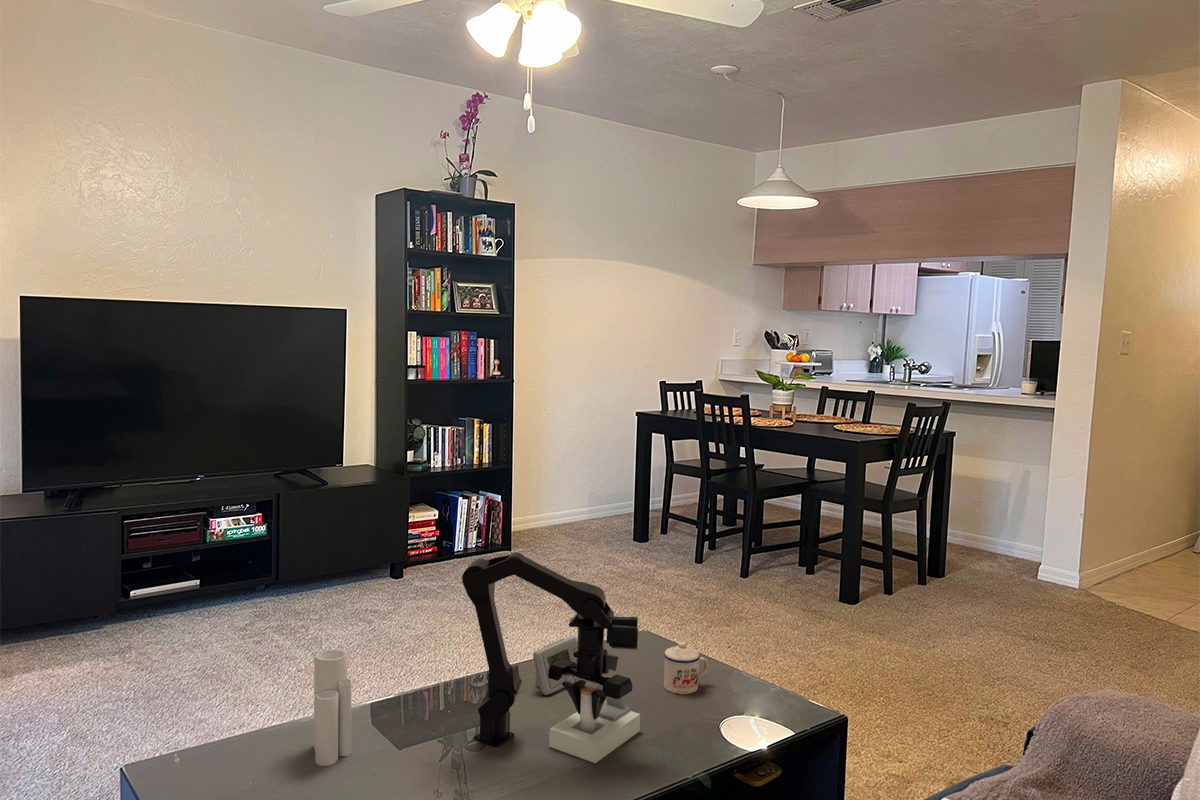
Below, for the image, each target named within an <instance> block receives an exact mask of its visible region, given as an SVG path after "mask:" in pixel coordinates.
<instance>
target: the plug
mask: <svg viewBox="0 0 1200 800" xmlns="http://www.w3.org/2000/svg"><path fill="white" fill-rule="evenodd" d="M595 690H597V686H592V685H585V686H584V687H582V688H581V706H580V731H583V732H586V733H594V732H595V731H596V724H597V719H596V720H595V719H594V718H593V712H592V699H591V693H592V692H593V691H595Z"/></svg>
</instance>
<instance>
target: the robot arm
mask: <svg viewBox="0 0 1200 800" xmlns="http://www.w3.org/2000/svg"><path fill="white" fill-rule="evenodd" d="M511 576H515V577H517V578H520V579H521V580H524V581H526V582H527V583H528V584H531V585H534V586H535V587H537V588H539V589H541V590H543V591H545V592H547V593H549V594H552V595H553V596H555V597H557V598H559V599H561V600H562V601H563V602H564V603H565V604H566V605H567V606H568V607H569V608H570V609H571V610H573V611H574V612H575V613H576V614H575V615H574V616H573V617H572V618H570V620H569V623H568V627H569V628H577V638H576V639H577V651H575V652H574V655H573V657H576V658H577V664H576V663H575V662H572V661H569V660H566V659H561V660H559V661H557V662H555V663H553V664H551V665H550V666H549V668H548V678H550V679H553V680H556V681H558V680H560V679H561V678H562V674H563V676H564V682H563V683H562V686H564V687H565V688H564V689H565V690H566V691H567V693H568V695H569V696H570V698H571V701H572V702H573V705H574V707H575V709H576V712H578V714H580V706H581V688H582V687H584V686H586V683H590V684H593V685H596V688H597V690H595V691H593V692H592V693H591V699H592V712H593V718H594V719H595V720H596V719H597V718H598V716H599V714H600V711H601V709H602V706H603V704H604V701H605V700H607V696H608V697H611V698H614V699H620V698H621V697H623V696H625V697H626V695H627V694H630V692H632V691H633V681H632V679H631V678H630V677H628V676H627V677H626V676H624V675H620V674H614V675H613V676H611V677H609V676H603V675H607V674H609V671H613V672H616V671H617V665H618V661H619V655H618V656H617V655H613V654H610V653H608V650H607V649H606V648H604V645H605V629H606V644H608V646H609V647H611V649H617V650H620V649H621V650H631V651H632V650H634V651H635V650H636V651H637V650H638V647H639V628H638V625H639V624H638V623H639V622H638V621H639V617H638V616H629V617H628V616H615V612H614V611H613V610H612V608H611V606H610V605H609V604H608V602H607V599H606V598H607V597H606V594H605V591H604V590H603V589H602V588H601V587H599V586H597V585H594V584H590V583H587V582H584V581H576V580H572V579H569V578H567V577H566V576H563V575H561V574H560V573H558V572H556V571H553V570H552V569H550V568H547V567H545V566H544V565H541V564H540V563H538V562H536V561H534V560H532V559H530V558H529V557H526V556H525V555H524V554H522V553H520V552H516V551H515V552H512V553H511V554H507V555H506V554H505V555H502V556H496V557H493V558H489V559H485V558H477V559H475V560H473V561H472V562H471V563H470V564H469V565H468V567H467V568H466V569H465V570H464V572H463V573H462V577H461V581H462V584H463V587H464V590H465V593H466V595H467V597H468V598H469V600H470V601H471V602H472V604H473V606H474V608H475V612H476V617H477V621H478V626H479V631H480V634H481V639H482V640H481V641H482V643H483V649H484V652H485V658H486V662H487V666H488V677H487V678H488V679H487V692H485V695H484V696H483V698H482V701H481V702H480V703H479V706H478V708H477V712H478V715H479V733H477V734H475V735H474V737H473V738H474V739H475V740H477V741H479V742H481V743H484V744H488V745H490V746H492V747H498V746H500V745H502V744H503V743H506V742H507V741H508V740H510V739H512V738H514V737H515V733H514V732H511V731H510V730H511V725H510V724H511V713H510V708H511V707H512V706H513V705H514V704H515V701H516V699H517V696H518V695H519V692H520V689H521V685H522V682H523V681H522V679H521V677H520V673H519V671H520V669H519V665H514V666H512V664H511V663H510V662H509V660H508V656H507V651H506V647H505V642H504V638H503V633H502V629H501V623H500V620H499V615H498V611H497V607H496V606H497V605H496V601H495V593H496V592H495V588H496V582H499V581H501V580H504V579H505V578H509V577H511Z"/></svg>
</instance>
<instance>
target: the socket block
mask: <svg viewBox="0 0 1200 800" xmlns="http://www.w3.org/2000/svg"><path fill="white" fill-rule="evenodd" d="M640 731H641V713H638V712H635V711H632V710H630V711H629V712H628V713H626V714H625V715H623V716H622V717H620V718H619V719H617V720H616V721H611V720H608V719H605V718H601V717H598V718H597V724H596V731H595V732H594V733H586V732H583V731H580V714H578V712H577V711H576V712H575V713H573V714H571V715H569V716H568V717H566V718H564V719H563V720H561V721H560V722H558V723H556V724H555V725H553V726H551V727H550V728H549V731H548V732H549V739H548V740H549V741H548V745H549V746H548V747H549V748H552V749H555V750H557V751H560V752H563V753H565V754H567V755H568V754H569V755H572V756H575V757H577V758H579V759H582V760H585V761H587V762H591V763H594V764H597V762H599V761H601V760H602V759H603V758H605V757H607V756H608V755H609V754H610V753H611V752H613V751H615V750H616V749H617V748H619V747H620V746H621V745H623V744H624V743H625V742H627V741H628V740H630V739H631V738H632V737H634V736H635V735H636V734H638V733H639V732H640Z"/></svg>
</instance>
